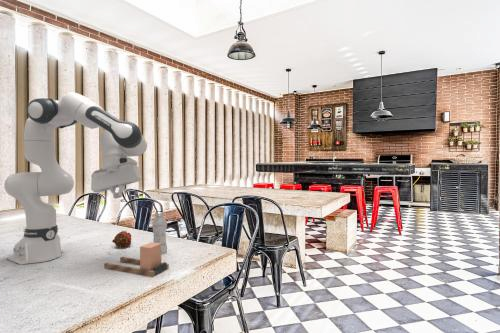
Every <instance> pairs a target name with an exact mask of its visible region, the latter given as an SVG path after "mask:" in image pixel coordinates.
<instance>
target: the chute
mask: <svg viewBox="0 0 500 333" xmlns="http://www.w3.org/2000/svg"><path fill="white" fill-rule="evenodd" d="M119 262H120V263H124V264H129V265H130V264H131V265H136V266H140V258H133V257H127V256H121V257H120V258H119ZM129 265H128V266H126V265H121V264H115V263H109V262H105V263H104V264H103V266H104V267H103V268H104V269H106V270H111V271H116V272H122V273H127V274H134V275H139V276H144V277H148V278H153V277H156V276H158V275H159V274H162V273H163V272H165V271H167V270H168V269H169V268H170V267H169V266H170V265H169V263H167V262H166V261H165V262H161V264H160V265H158V266H156V267H154V268H153V271H151V270H146V269H140V267H134V266H133V267H132V266H129Z"/></svg>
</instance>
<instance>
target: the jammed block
mask: <svg viewBox="0 0 500 333" xmlns="http://www.w3.org/2000/svg"><path fill="white" fill-rule="evenodd" d="M139 259H140V265H139V268H140V269H146V270H151V271H153V268H154V267H156V266H158V265H160V264H161V263H162V254H161V244H159V243H153V242H149V243H146V244H143V245H140V246H139Z"/></svg>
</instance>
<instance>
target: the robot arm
mask: <svg viewBox="0 0 500 333" xmlns="http://www.w3.org/2000/svg"><path fill="white" fill-rule="evenodd" d="M26 113H27V115H28V118H27V119H26V121H25V125H24V130H23V150H24V151H23V153H24V158H25V160H26V161H28V162H29V163H30V164H33V165H37V166H38V167H39V168H40V171H25V172H24V171H23V172H22V171H21V172H16V173H12V174H11V173H10V175H9V176H7V177H6V179H5V180H4V186H3V188H4V190H5V192H6V193H7V194H8V195H9V196H10V197H13V199H15V200H17V201H18V202H19V203H20V204H21V206H22V208H23V210H24V213H25V224H26V227H25V228H24V229H23V231H22V232H23V233H24V234H23V237H22V238H21V239H20V240H19V241H17V243H16V244H15V245H14V247H13V249H12V250H13V254H10V255H8V256H7V257H6V258H7V260H9V261H11V262H13V263H16V264H17V263H18V264H17V265H26V264H35V263H43V262H47V261H51V260H55V259H58V258H59V257H61V256H62V254H63V253H64V249H62V244H61V237H60V235H59V234H58V232H59V231H58V230H59V228H58V224H57V209H56V208H55V207H54V206H53V205H52V204H49V203H46V202H44V201H42V199H41V197H51V196H52V197H53V196H55V197H57V196H61V195H67V194H69V193H71V192H72V191H73V188H74V185H75V181H74V180H75V179H74V177H73V176H72V174H70V173H69V172H68V171H65V169H63V168H62V166H60V164H59V163H58V161H57V157H56V151H55V135H54V134H55V130H56V129H57V128H58V129H64V128H67V127H71V126H74V125H76V124H77V123H79V124H80V125H82V126H84V127H86V128H89V129H91V130H94V129H97V128H102V129H103V130H102V132H101V133H100V139H99V141H100V146H99V147H100V152H101V154H102V156H101V163H102V164H101V165H102V168H100V169H98V170H94V171H93V172H92V173H91V175H90V176H91V180H90V182H91V183H90V189H91V192H93V193H95V194H99V193H101V192H102V193H103V192H106V191H110V192H111V194H112V197H113V199H119V198H122V197H123V192H124V189H125V186H127V185H131V184H134V183H139V182H141V180H142V173H141V170H140V167H139V166H138V161H137V160H135V159H134V158H132V157H139V156H142V155H143V154H144V153H145V152H146V151H147V149H148V142H147V141H146V139H145V136H143V134H142V131H141V130H140V129H141V128H140V127H139V126H138V125H137V124H136V123H134V122H130V121H125V120H122V119H119V118H117V117H116V116H114V115H113V114H111V113H109V112H107V111H105V109H104V108H103V107H102V106H100V105H99V104H98V103H96V102H95V101H94V100H93V99H91V98H88V97H87V96H84V95H83V94H80V93H77V92H74V91H70V92H67V93H65V94H64V95H63V96H62V97H61V99H59V100H57V99H54V98H50V97H49V98H48V97H47V98H44V97H40V98H34V99H32V100H30V101H29V103H28V104H27V107H26ZM117 188H118V191H117V192H116V189H117Z"/></svg>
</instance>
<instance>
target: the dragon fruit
mask: <svg viewBox="0 0 500 333" xmlns="http://www.w3.org/2000/svg"><path fill="white" fill-rule="evenodd" d="M111 242H112V244H113V243H114V245H115V246H116V247H117V248H126V247H127V246H131V244H132V234H131V233H130V232H128V231H126V230H122V231H120V232H118V233H117V234H116V235H115V237H114V238H113V239H112V241H111Z"/></svg>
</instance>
